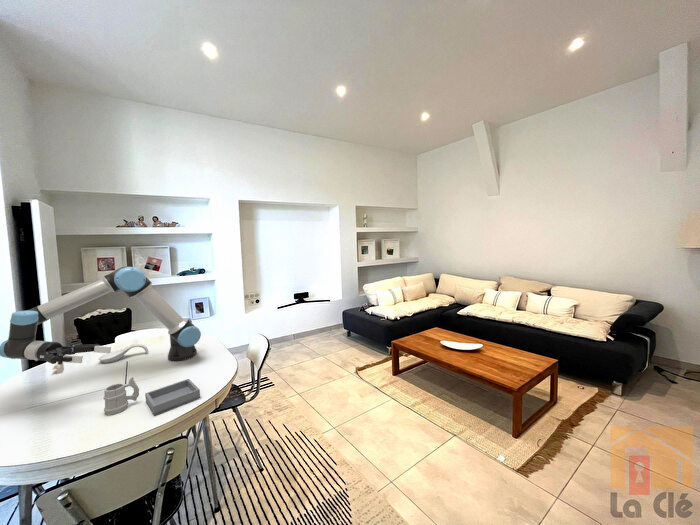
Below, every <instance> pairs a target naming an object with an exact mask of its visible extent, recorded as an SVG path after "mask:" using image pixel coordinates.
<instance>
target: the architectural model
mask: <svg viewBox="0 0 700 525" xmlns="http://www.w3.org/2000/svg"><path fill="white" fill-rule="evenodd" d="M53 370H56V375H60V374H63V372H64V370H65V367H64V362H62V364H58V362H56V364H54V366H53V368H52V371H53Z"/></svg>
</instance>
